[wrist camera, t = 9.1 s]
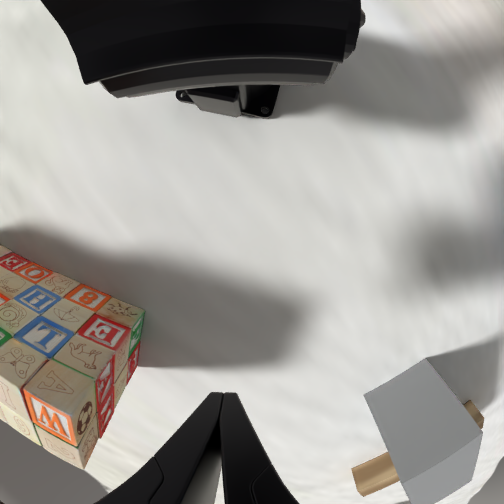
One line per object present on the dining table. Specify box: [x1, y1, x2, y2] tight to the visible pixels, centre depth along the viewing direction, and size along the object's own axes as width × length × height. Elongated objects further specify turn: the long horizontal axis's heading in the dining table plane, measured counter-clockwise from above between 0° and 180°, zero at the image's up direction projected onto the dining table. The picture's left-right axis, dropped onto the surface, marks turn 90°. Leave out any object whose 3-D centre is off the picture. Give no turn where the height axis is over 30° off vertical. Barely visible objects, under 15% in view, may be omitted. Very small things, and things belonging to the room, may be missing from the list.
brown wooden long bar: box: [352, 400, 484, 497], centre depth 24 cm, size 3×18×4 cm, turn 120°
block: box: [364, 358, 483, 504], centre depth 19 cm, size 14×7×11 cm, turn 30°
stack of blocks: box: [0, 245, 145, 469], centre depth 15 cm, size 21×6×12 cm, turn 72°
